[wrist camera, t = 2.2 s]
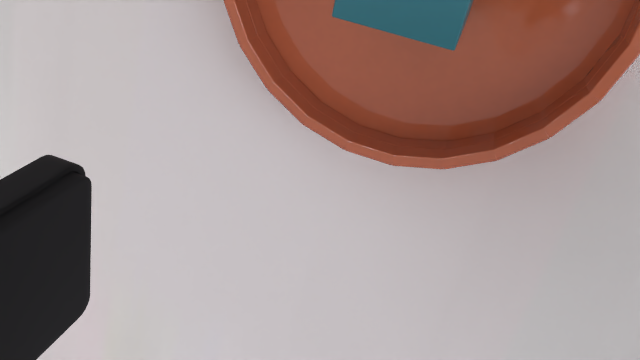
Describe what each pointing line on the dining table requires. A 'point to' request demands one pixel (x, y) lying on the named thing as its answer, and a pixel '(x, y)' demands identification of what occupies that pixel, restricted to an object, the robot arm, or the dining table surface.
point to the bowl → (440, 75)
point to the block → (410, 18)
